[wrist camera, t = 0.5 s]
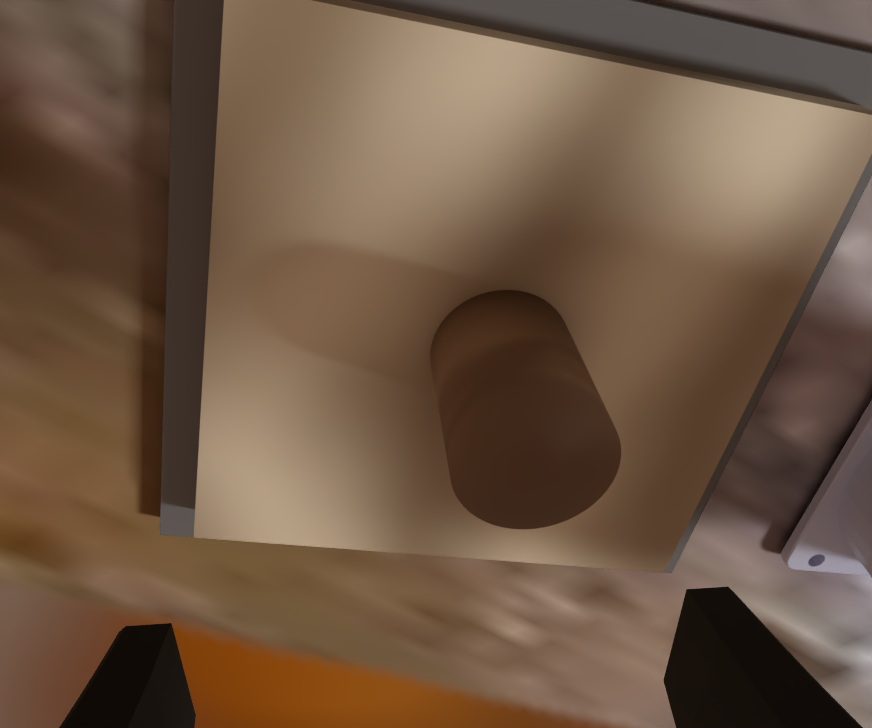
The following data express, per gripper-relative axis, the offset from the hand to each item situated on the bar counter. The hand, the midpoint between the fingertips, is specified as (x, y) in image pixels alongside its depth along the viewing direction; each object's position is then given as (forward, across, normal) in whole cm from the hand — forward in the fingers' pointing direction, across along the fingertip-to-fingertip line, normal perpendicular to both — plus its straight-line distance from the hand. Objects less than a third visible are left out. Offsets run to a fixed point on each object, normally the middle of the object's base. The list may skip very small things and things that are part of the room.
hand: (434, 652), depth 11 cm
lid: (+9, -2, 0) cm, 9 cm away
